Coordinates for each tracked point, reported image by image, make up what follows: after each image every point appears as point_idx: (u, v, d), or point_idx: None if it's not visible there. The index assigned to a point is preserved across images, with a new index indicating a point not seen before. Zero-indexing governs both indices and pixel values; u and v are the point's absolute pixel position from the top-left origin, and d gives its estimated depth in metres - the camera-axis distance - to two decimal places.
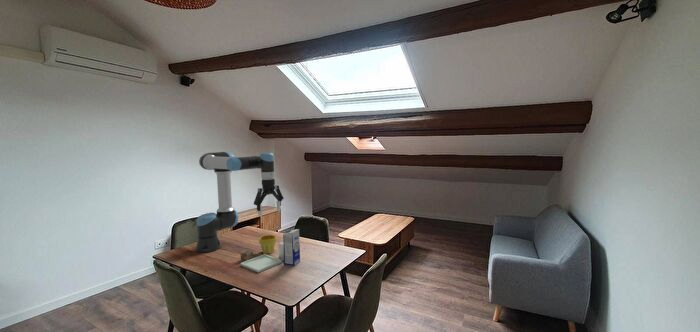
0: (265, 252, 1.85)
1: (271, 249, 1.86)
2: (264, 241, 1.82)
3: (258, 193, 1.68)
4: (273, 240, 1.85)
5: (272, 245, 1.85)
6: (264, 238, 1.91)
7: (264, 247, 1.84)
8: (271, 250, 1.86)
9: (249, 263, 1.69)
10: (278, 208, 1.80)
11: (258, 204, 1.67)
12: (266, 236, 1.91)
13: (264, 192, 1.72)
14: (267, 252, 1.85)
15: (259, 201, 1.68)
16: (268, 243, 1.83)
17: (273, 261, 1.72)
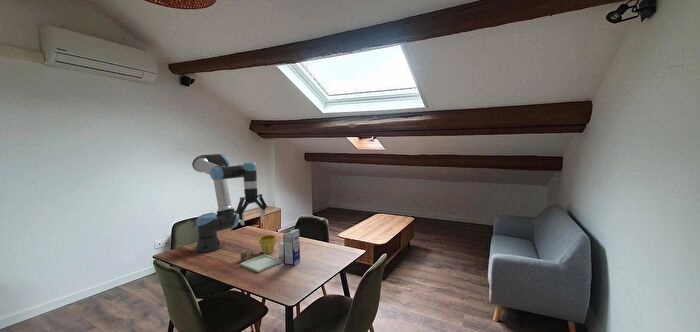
0: (265, 252, 1.85)
1: (271, 249, 1.86)
2: (264, 241, 1.82)
3: (240, 202, 1.71)
4: (273, 240, 1.85)
5: (272, 245, 1.85)
6: (264, 238, 1.91)
7: (264, 247, 1.84)
8: (271, 250, 1.86)
9: (249, 263, 1.69)
10: (261, 216, 1.83)
11: (240, 213, 1.70)
12: (266, 236, 1.91)
13: (246, 201, 1.75)
14: (267, 252, 1.85)
15: (241, 210, 1.72)
16: (268, 243, 1.83)
17: (273, 261, 1.72)
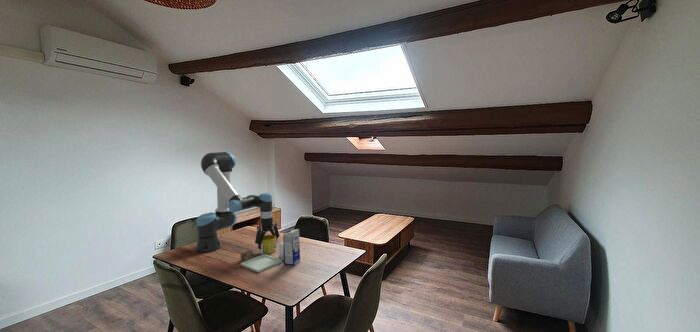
0: (265, 252, 1.85)
1: (271, 249, 1.86)
2: (264, 241, 1.82)
3: (258, 232, 1.81)
4: (273, 240, 1.85)
5: (272, 245, 1.85)
6: (264, 238, 1.91)
7: (264, 247, 1.84)
8: (271, 250, 1.86)
9: (249, 263, 1.69)
10: None
11: (259, 243, 1.81)
12: (266, 236, 1.91)
13: (263, 230, 1.85)
14: (267, 252, 1.85)
15: (260, 240, 1.82)
16: (268, 243, 1.83)
17: (273, 261, 1.72)
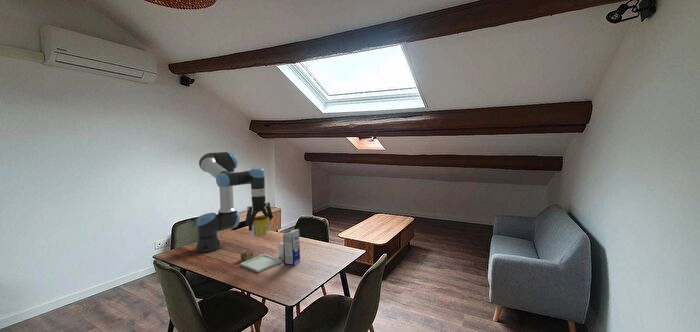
0: (257, 234, 1.65)
1: (263, 231, 1.66)
2: (255, 222, 1.62)
3: (248, 212, 1.61)
4: (266, 221, 1.65)
5: (265, 227, 1.66)
6: (256, 219, 1.71)
7: (255, 229, 1.64)
8: (263, 232, 1.66)
9: (249, 263, 1.69)
10: (267, 227, 1.72)
11: (250, 224, 1.61)
12: (258, 217, 1.72)
13: (254, 210, 1.65)
14: (259, 234, 1.65)
15: (250, 220, 1.62)
16: (260, 224, 1.63)
17: (273, 261, 1.72)
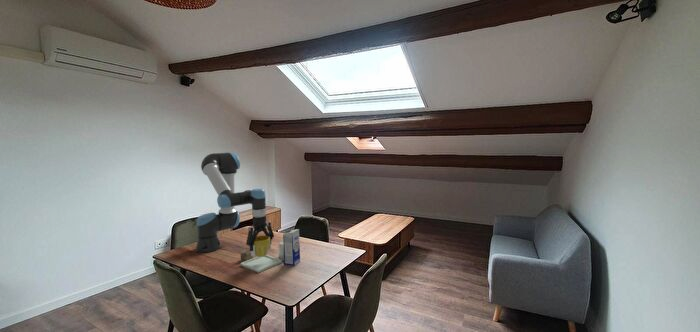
0: (258, 255, 1.66)
1: (264, 252, 1.67)
2: (256, 242, 1.63)
3: (249, 233, 1.62)
4: (267, 241, 1.66)
5: (266, 247, 1.67)
6: (257, 239, 1.72)
7: (257, 249, 1.65)
8: (264, 252, 1.67)
9: (249, 263, 1.69)
10: (268, 247, 1.73)
11: (251, 244, 1.62)
12: (259, 237, 1.73)
13: (255, 230, 1.66)
14: (260, 255, 1.66)
15: (251, 241, 1.63)
16: (261, 245, 1.64)
17: (273, 261, 1.72)
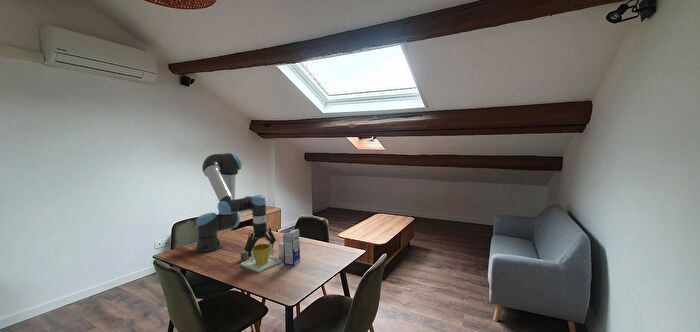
0: (258, 263, 1.67)
1: (265, 260, 1.67)
2: (257, 251, 1.64)
3: (249, 238, 1.62)
4: (267, 250, 1.67)
5: (266, 255, 1.67)
6: (257, 247, 1.72)
7: (257, 258, 1.65)
8: (265, 261, 1.68)
9: (249, 263, 1.69)
10: (270, 251, 1.74)
11: (249, 250, 1.62)
12: (260, 245, 1.73)
13: (255, 236, 1.66)
14: (260, 263, 1.66)
15: (250, 247, 1.63)
16: (262, 253, 1.64)
17: (273, 261, 1.72)
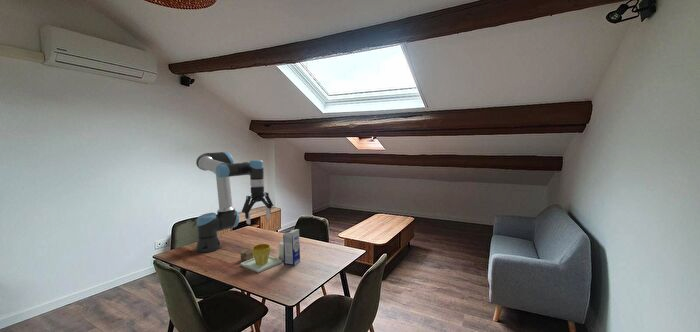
0: (258, 263, 1.67)
1: (265, 260, 1.67)
2: (257, 251, 1.64)
3: (246, 201, 1.67)
4: (267, 250, 1.67)
5: (266, 255, 1.67)
6: (257, 247, 1.72)
7: (257, 258, 1.66)
8: (265, 261, 1.68)
9: (249, 263, 1.69)
10: (267, 215, 1.79)
11: (246, 212, 1.66)
12: (260, 245, 1.73)
13: (253, 199, 1.70)
14: (260, 263, 1.66)
15: (247, 209, 1.67)
16: (261, 253, 1.64)
17: (273, 261, 1.72)
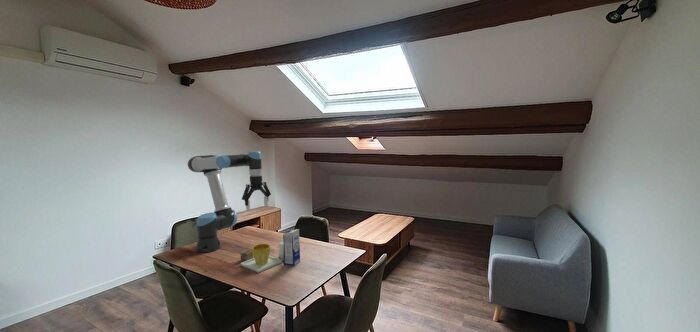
0: (258, 263, 1.67)
1: (265, 260, 1.67)
2: (257, 251, 1.64)
3: (246, 189, 1.79)
4: (267, 250, 1.67)
5: (266, 255, 1.67)
6: (257, 247, 1.72)
7: (257, 258, 1.66)
8: (265, 261, 1.68)
9: (249, 263, 1.69)
10: (265, 203, 1.91)
11: (246, 199, 1.78)
12: (260, 245, 1.73)
13: (252, 188, 1.83)
14: (260, 263, 1.66)
15: (247, 196, 1.79)
16: (261, 253, 1.64)
17: (273, 261, 1.72)
